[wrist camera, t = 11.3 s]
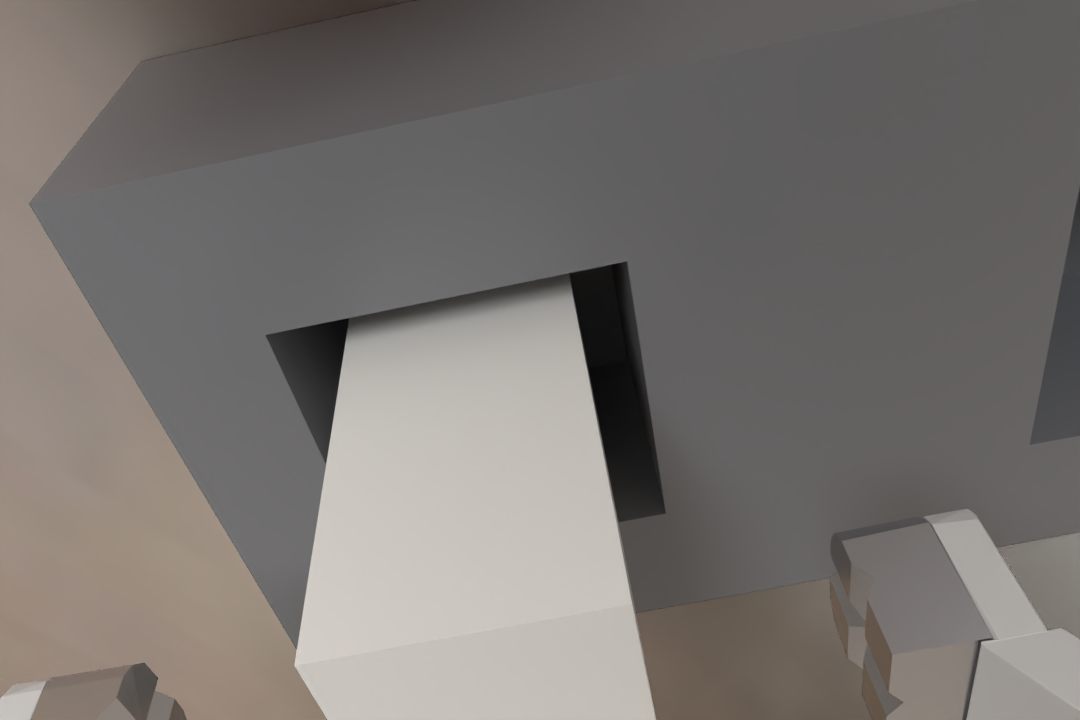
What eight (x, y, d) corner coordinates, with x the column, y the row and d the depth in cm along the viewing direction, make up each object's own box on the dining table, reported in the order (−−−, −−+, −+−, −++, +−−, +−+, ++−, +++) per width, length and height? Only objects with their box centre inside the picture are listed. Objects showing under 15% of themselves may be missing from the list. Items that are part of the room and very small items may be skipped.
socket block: (140, 61, 15) (28, 203, 11) (1395, -217, 14) (1774, -172, 10) (337, 482, 21) (310, 672, 17) (1221, 311, 20) (1412, 471, 16)
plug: (364, 224, 16) (294, 666, 9) (551, 185, 16) (631, 603, 9) (422, 389, 19) (403, 843, 11) (586, 357, 18) (672, 797, 11)
